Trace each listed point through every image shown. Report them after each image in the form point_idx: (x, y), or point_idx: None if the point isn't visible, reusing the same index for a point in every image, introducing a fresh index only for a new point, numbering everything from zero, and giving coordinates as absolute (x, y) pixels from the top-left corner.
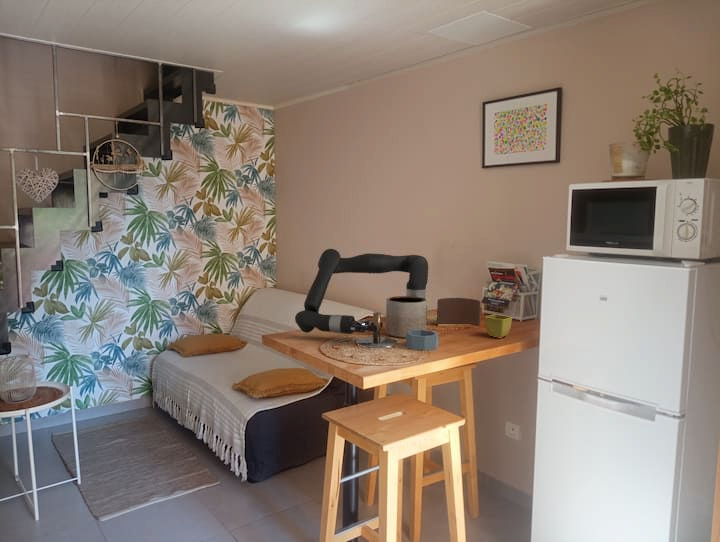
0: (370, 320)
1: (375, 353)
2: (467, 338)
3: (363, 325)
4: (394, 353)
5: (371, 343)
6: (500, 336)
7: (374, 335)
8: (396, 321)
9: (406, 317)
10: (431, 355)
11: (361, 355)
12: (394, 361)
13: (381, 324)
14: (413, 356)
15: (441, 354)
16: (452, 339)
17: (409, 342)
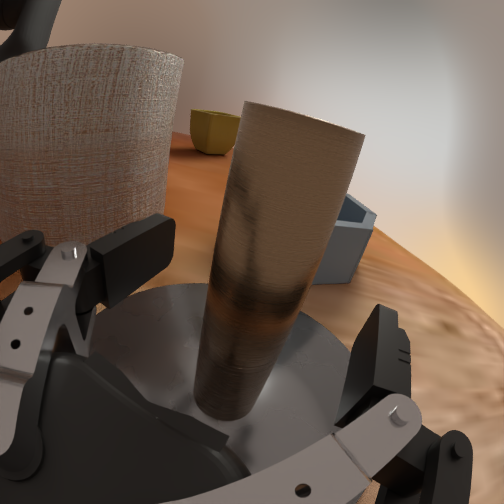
0: (20, 255)
1: (457, 423)
2: (206, 168)
3: (392, 457)
4: (429, 349)
5: (274, 443)
6: (229, 150)
7: (261, 385)
8: (116, 171)
9: (161, 134)
10: (402, 265)
11: (496, 475)
12: (500, 359)
13: (169, 238)
14: (434, 304)
15: (382, 246)
16: (208, 180)
17: (340, 262)
